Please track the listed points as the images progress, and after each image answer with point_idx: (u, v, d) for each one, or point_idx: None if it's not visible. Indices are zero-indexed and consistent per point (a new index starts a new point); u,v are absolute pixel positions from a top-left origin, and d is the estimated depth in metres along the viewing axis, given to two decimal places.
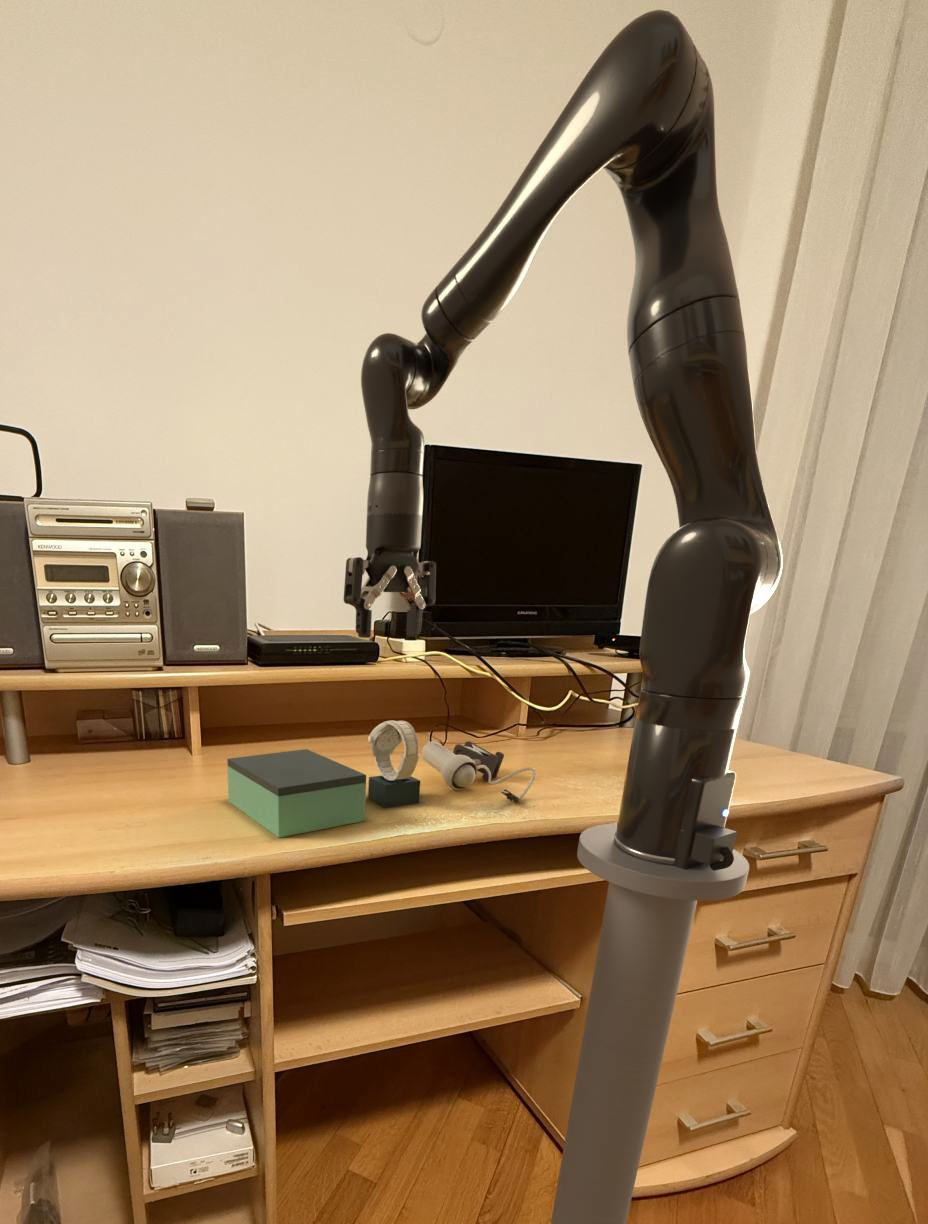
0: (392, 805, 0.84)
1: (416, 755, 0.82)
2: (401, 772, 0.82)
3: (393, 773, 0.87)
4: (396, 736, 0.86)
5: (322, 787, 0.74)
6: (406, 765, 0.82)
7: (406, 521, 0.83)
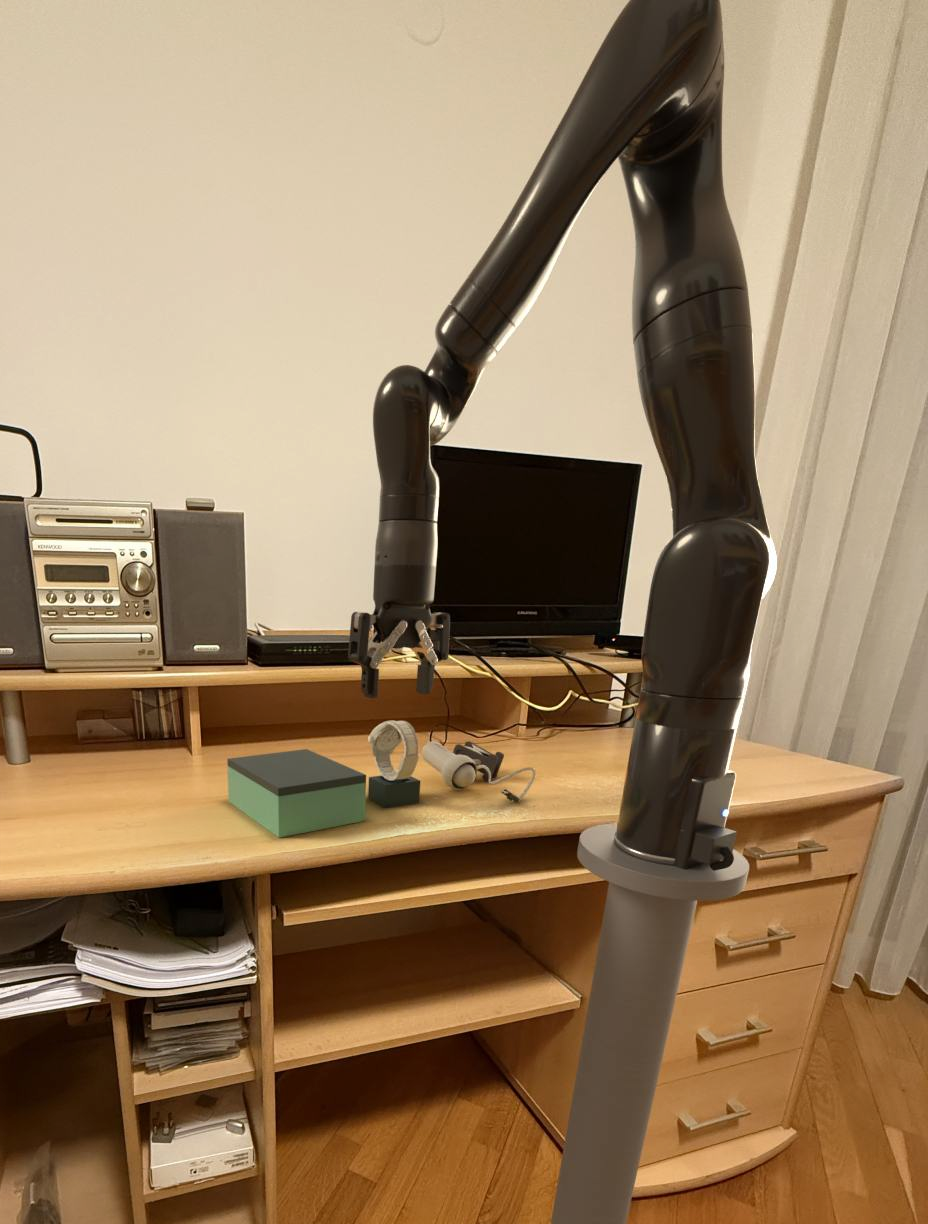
0: (392, 805, 0.84)
1: (416, 755, 0.82)
2: (401, 772, 0.82)
3: (393, 773, 0.87)
4: (396, 736, 0.86)
5: (322, 787, 0.74)
6: (406, 765, 0.82)
7: (418, 573, 0.74)
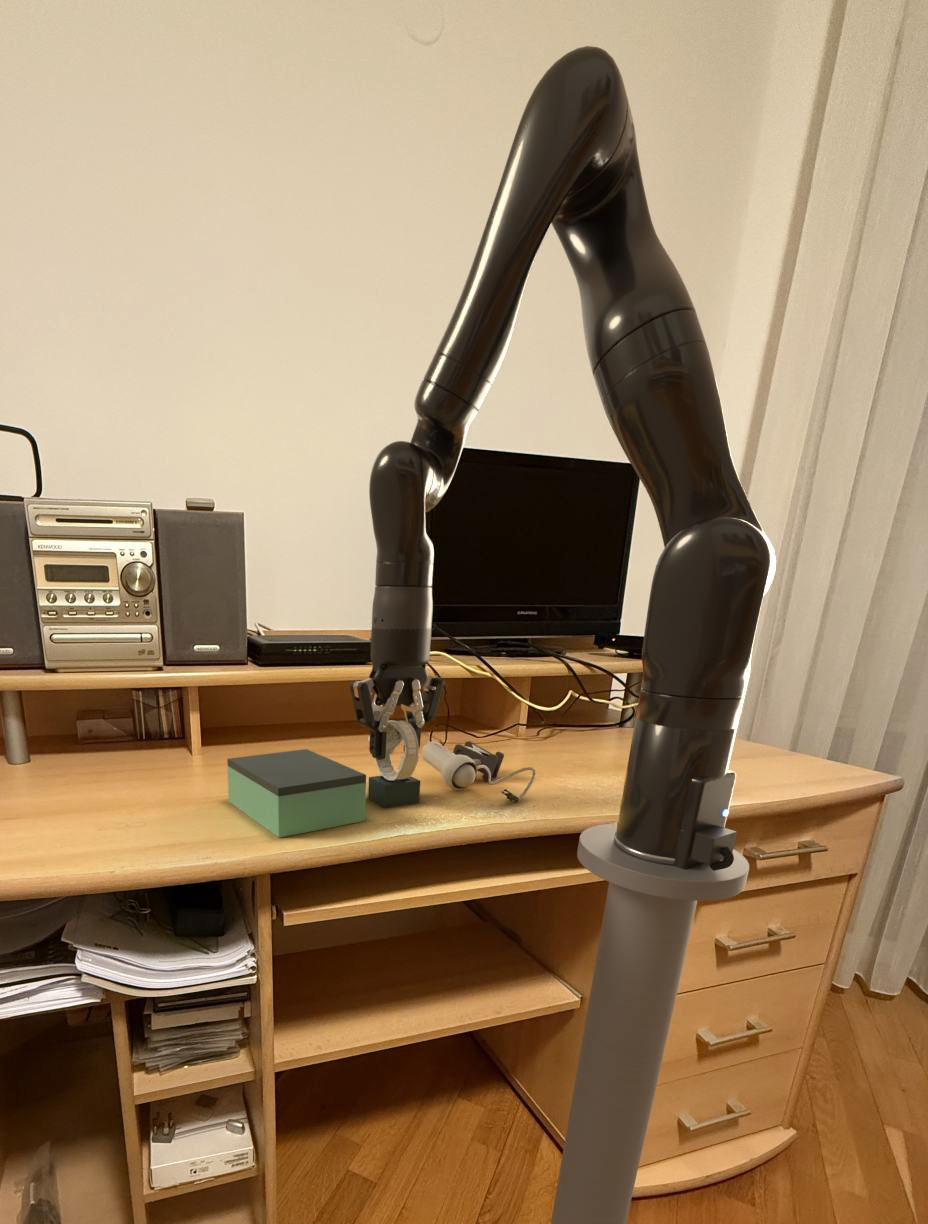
0: (392, 805, 0.84)
1: (416, 755, 0.82)
2: (401, 772, 0.82)
3: (393, 773, 0.87)
4: (396, 736, 0.86)
5: (322, 787, 0.74)
6: (406, 765, 0.82)
7: (414, 637, 0.77)
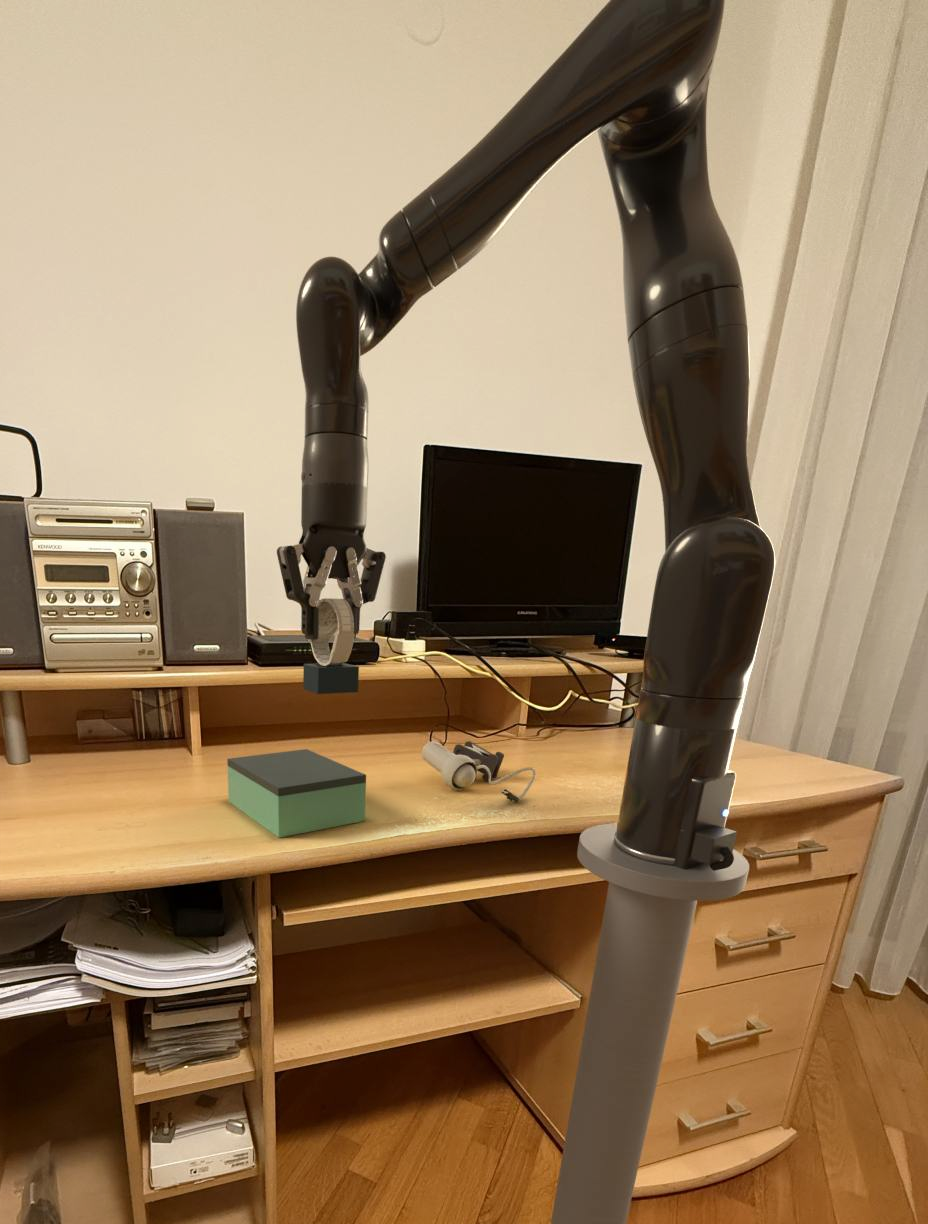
0: (327, 692, 0.77)
1: (351, 633, 0.74)
2: (335, 653, 0.75)
3: None
4: (334, 619, 0.79)
5: (322, 787, 0.74)
6: (340, 644, 0.74)
7: (345, 492, 0.69)
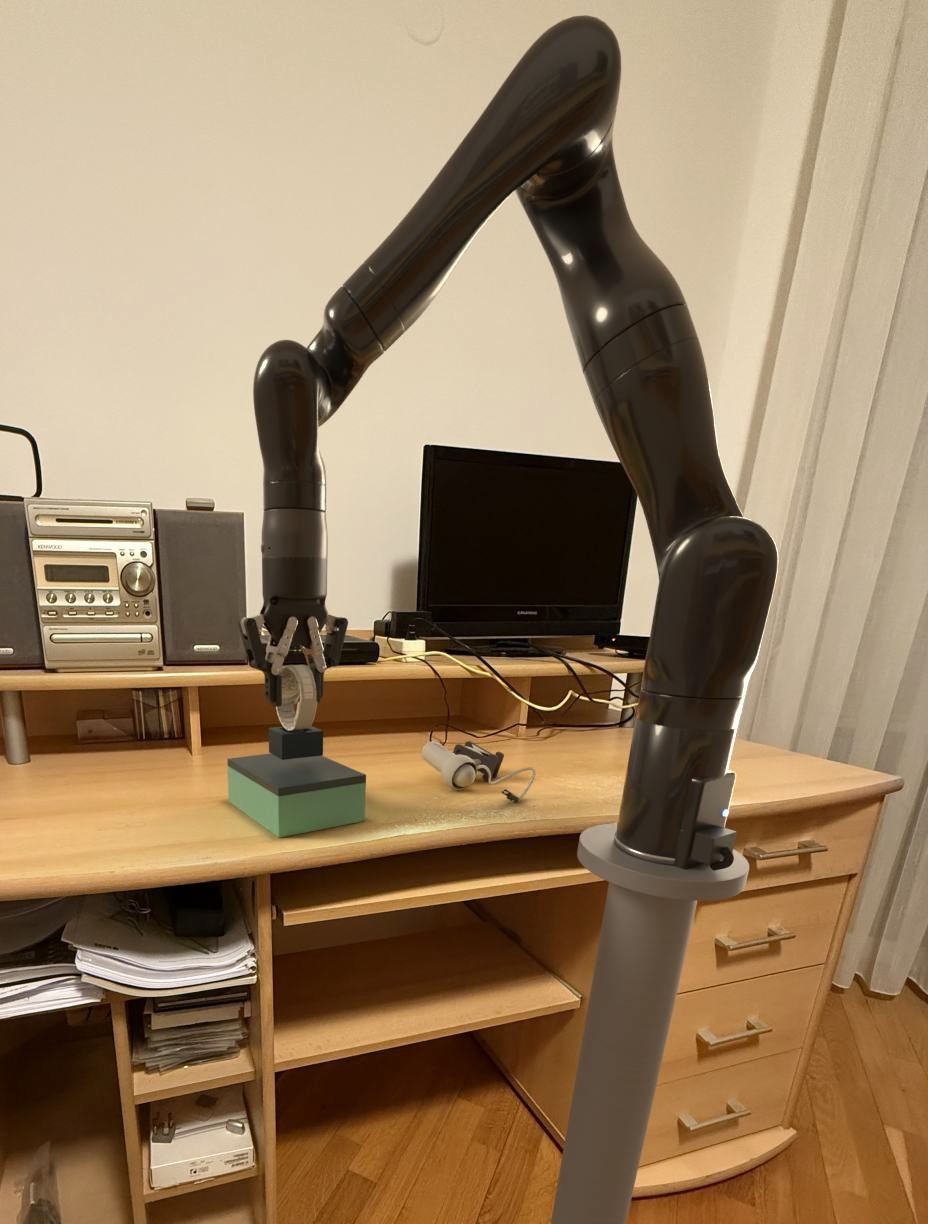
0: (291, 757, 0.77)
1: (314, 700, 0.74)
2: (298, 720, 0.75)
3: None
4: (298, 683, 0.79)
5: (322, 787, 0.74)
6: (303, 712, 0.75)
7: (304, 566, 0.69)
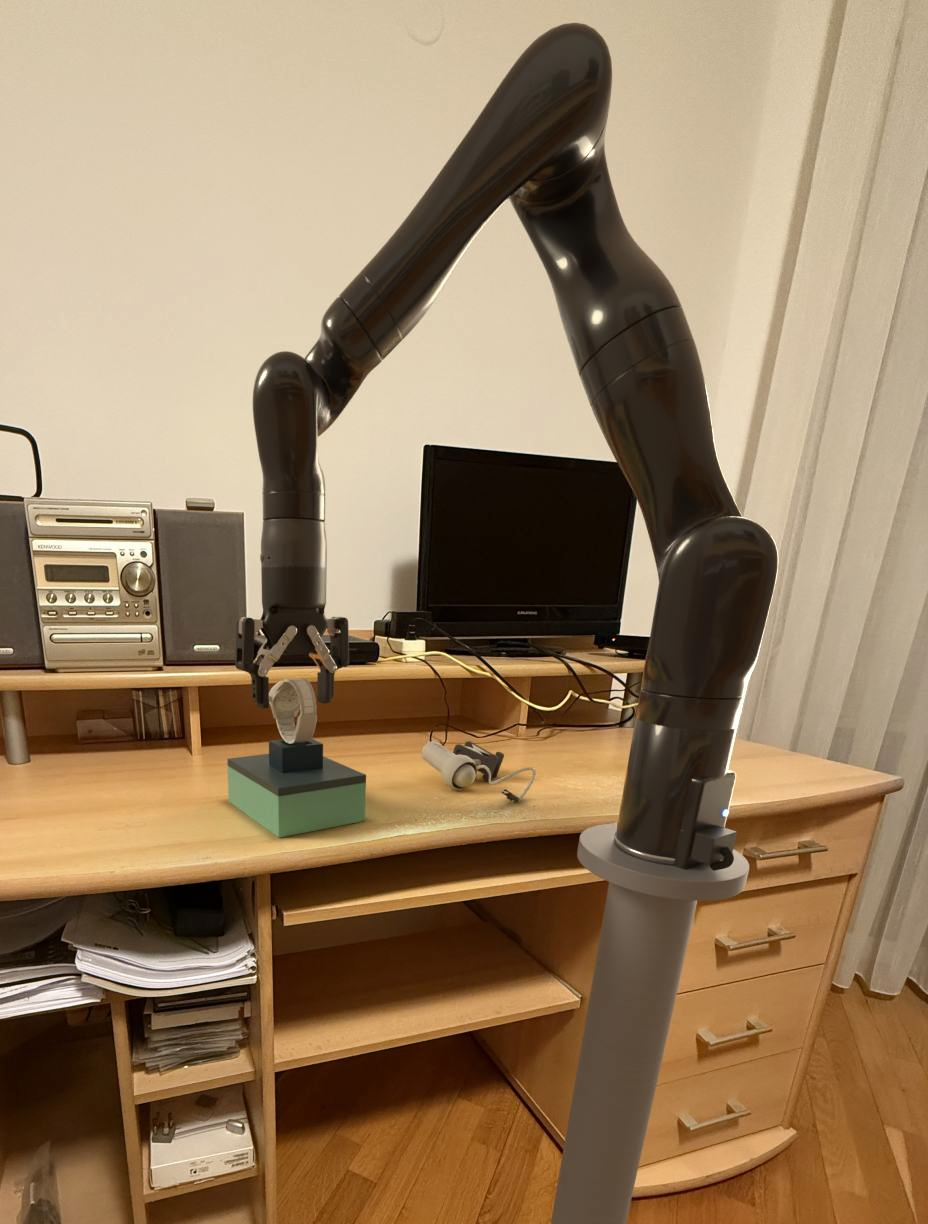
0: (291, 770, 0.78)
1: (314, 714, 0.75)
2: (298, 733, 0.76)
3: None
4: (298, 696, 0.79)
5: (322, 787, 0.74)
6: (303, 725, 0.75)
7: (303, 575, 0.70)
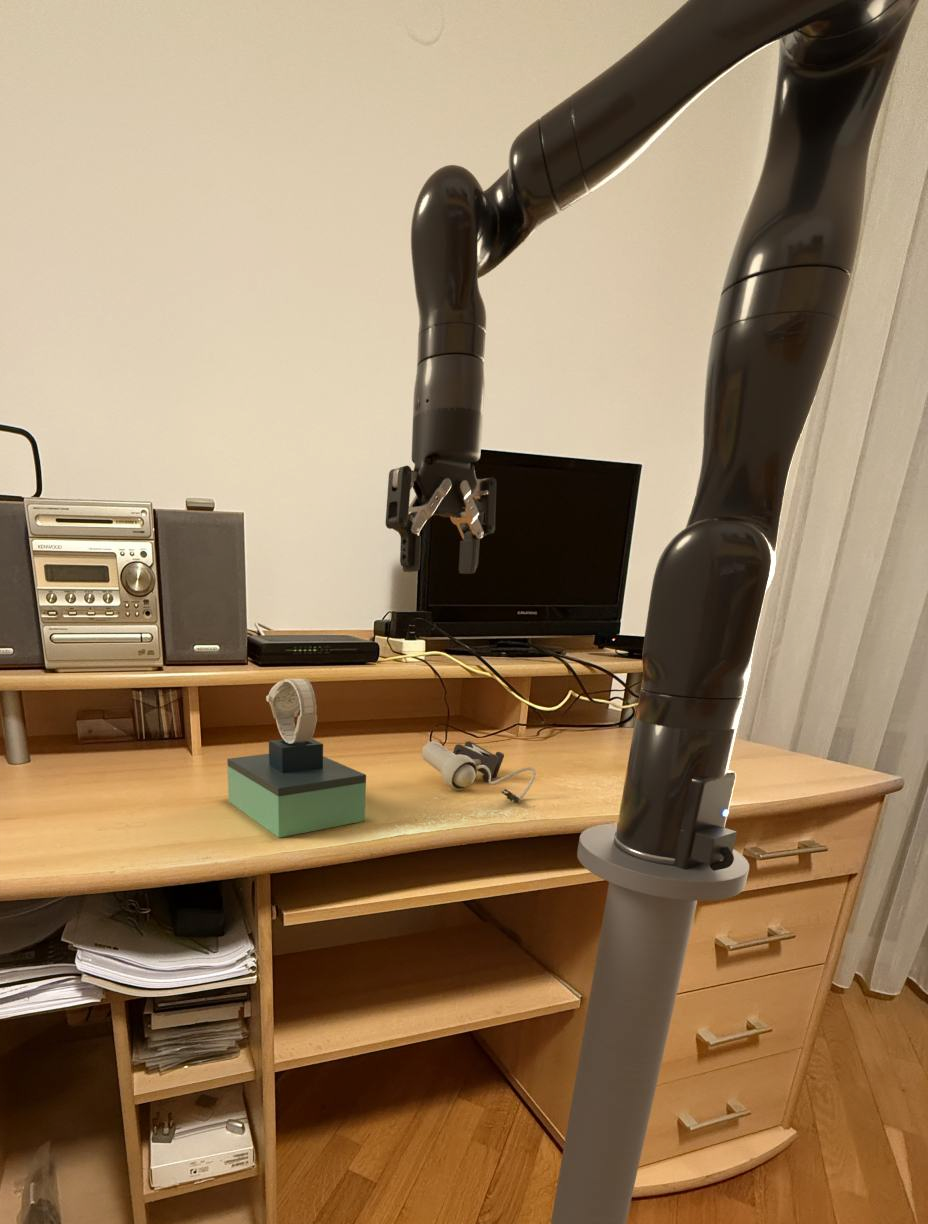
0: (291, 770, 0.78)
1: (314, 714, 0.75)
2: (298, 733, 0.76)
3: None
4: (298, 696, 0.79)
5: (322, 787, 0.74)
6: (303, 725, 0.75)
7: (465, 418, 0.66)
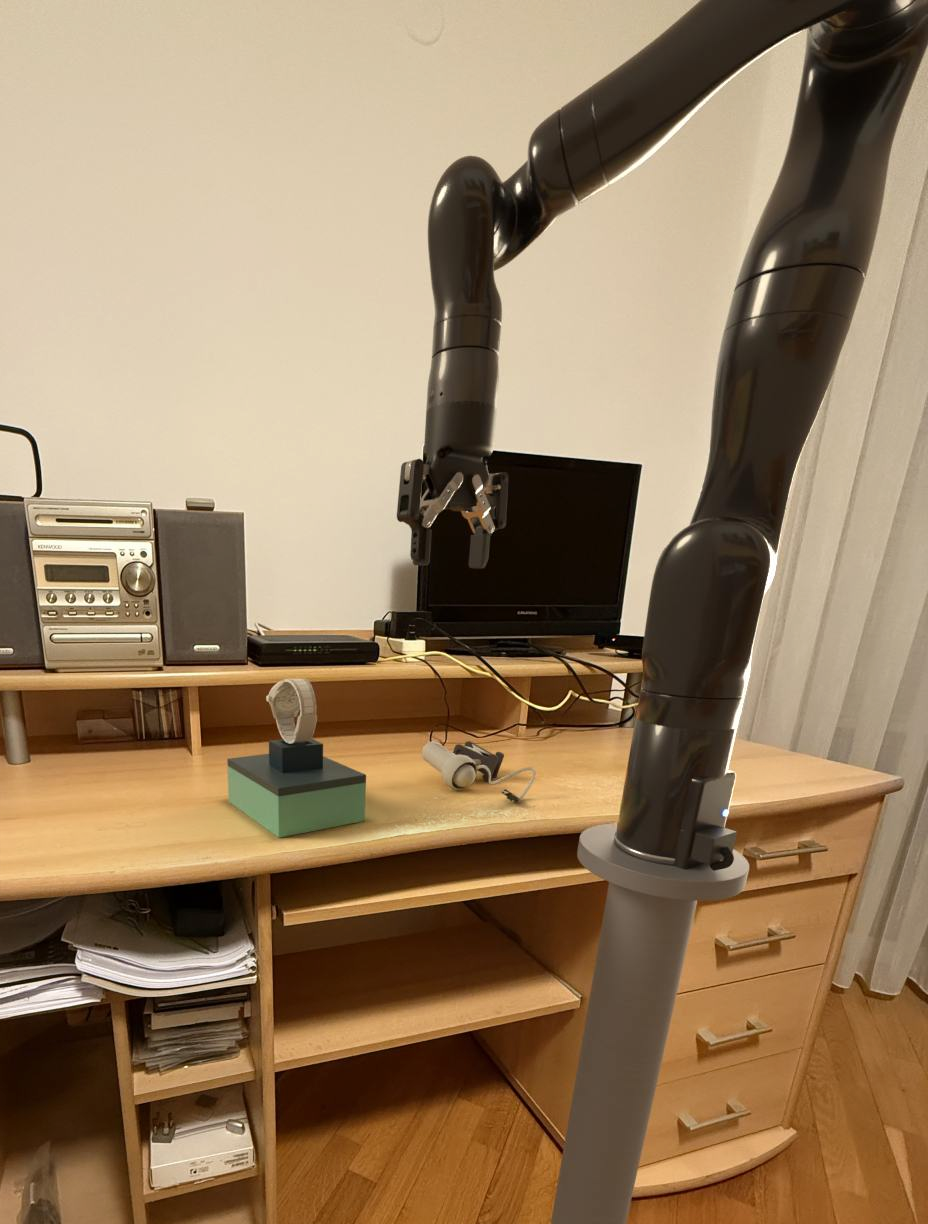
0: (291, 770, 0.78)
1: (314, 714, 0.75)
2: (298, 733, 0.76)
3: None
4: (298, 696, 0.79)
5: (322, 787, 0.74)
6: (303, 725, 0.75)
7: (479, 412, 0.66)
